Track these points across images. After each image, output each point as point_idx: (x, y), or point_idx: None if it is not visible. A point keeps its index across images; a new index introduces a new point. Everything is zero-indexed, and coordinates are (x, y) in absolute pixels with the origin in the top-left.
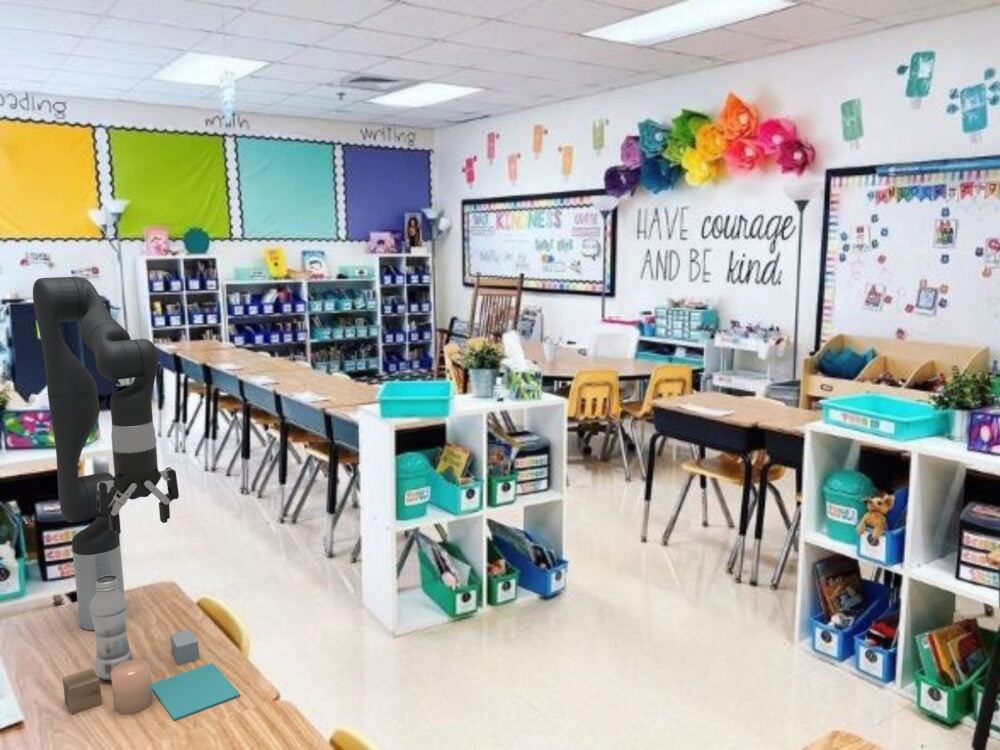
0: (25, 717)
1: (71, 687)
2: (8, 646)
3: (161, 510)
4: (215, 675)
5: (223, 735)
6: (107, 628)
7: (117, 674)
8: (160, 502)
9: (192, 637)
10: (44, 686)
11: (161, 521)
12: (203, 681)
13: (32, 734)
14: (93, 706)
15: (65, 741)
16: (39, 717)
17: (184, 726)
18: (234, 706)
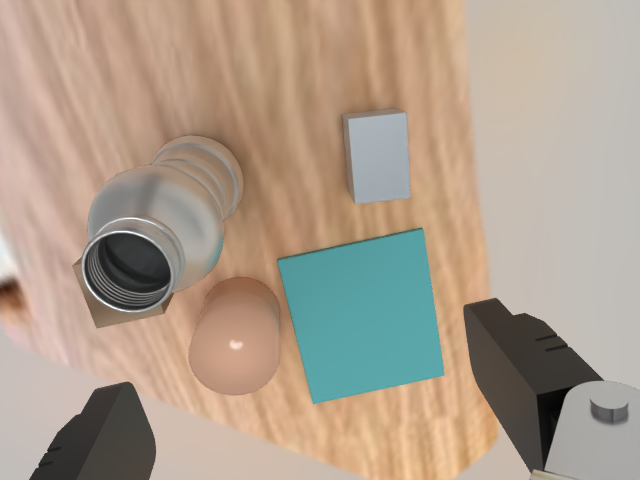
0: (19, 269)
1: (101, 321)
2: None
3: (511, 413)
4: (416, 287)
5: (385, 470)
6: (165, 258)
7: (204, 370)
8: (552, 421)
9: (401, 167)
10: (34, 148)
11: (466, 331)
12: (388, 299)
13: (48, 337)
14: None
15: None
16: (50, 282)
17: (328, 423)
18: (424, 399)
